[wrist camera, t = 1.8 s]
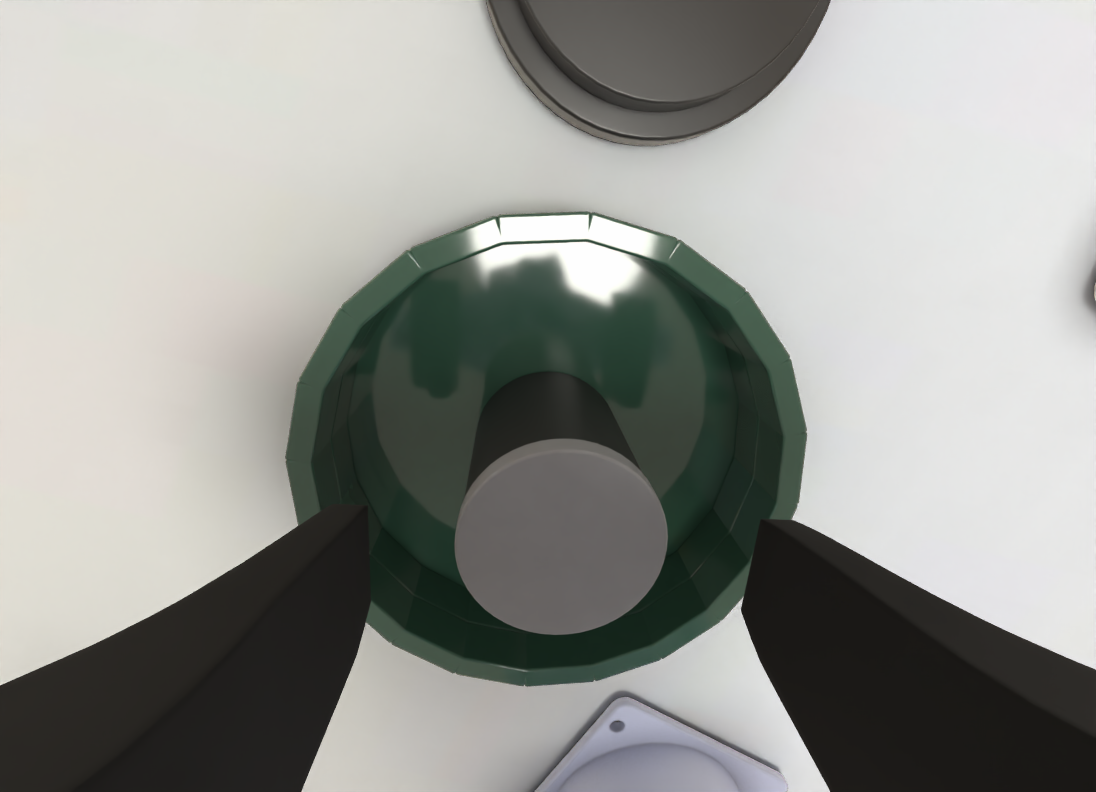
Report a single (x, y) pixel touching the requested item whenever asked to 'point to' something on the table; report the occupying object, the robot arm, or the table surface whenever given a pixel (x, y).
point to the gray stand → (654, 60)
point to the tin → (565, 347)
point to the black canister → (556, 510)
